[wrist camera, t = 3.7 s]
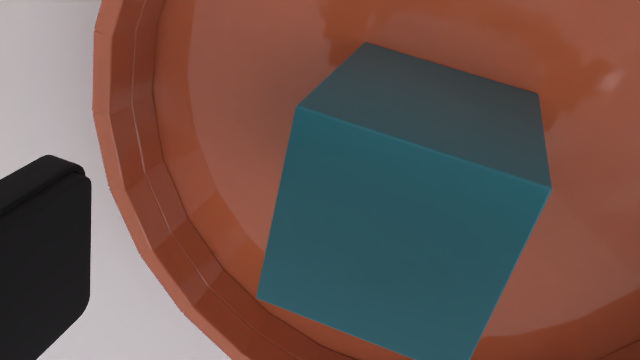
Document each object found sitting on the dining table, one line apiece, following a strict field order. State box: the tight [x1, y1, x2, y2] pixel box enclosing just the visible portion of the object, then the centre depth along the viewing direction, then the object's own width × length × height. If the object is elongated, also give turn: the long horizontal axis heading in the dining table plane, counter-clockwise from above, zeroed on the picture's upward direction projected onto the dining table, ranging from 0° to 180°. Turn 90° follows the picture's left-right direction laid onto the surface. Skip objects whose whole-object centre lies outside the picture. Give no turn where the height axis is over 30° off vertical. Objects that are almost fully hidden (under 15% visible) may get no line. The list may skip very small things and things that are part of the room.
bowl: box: [92, 0, 640, 360], centre depth 16 cm, size 19×19×3 cm
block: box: [256, 42, 552, 360], centre depth 14 cm, size 5×5×6 cm
